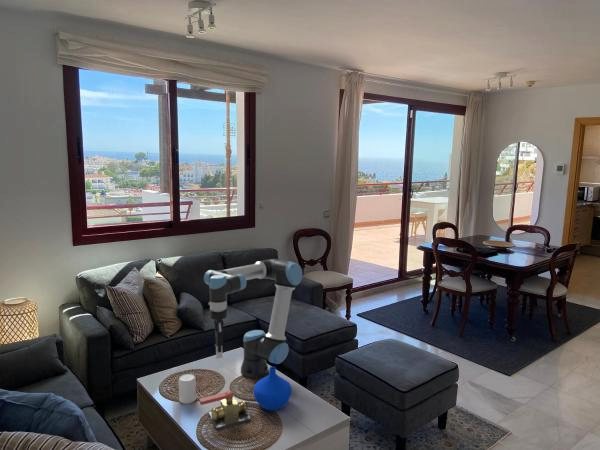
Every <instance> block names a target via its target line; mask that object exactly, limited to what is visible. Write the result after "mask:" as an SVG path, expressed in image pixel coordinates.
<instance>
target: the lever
mask: <svg viewBox="0 0 600 450" xmlns="http://www.w3.org/2000/svg"><path fill="white" fill-rule="evenodd" d="M232 397H234V392H233V390H228V391H225V392H221V393H217V394H214V395H213V394H212V395H208V396H205V397H200V398H199V399H198V402H199V404H200V406H204V405H207V404H211V403H215V402H221V400H223V399H227V398H232Z"/></svg>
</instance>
